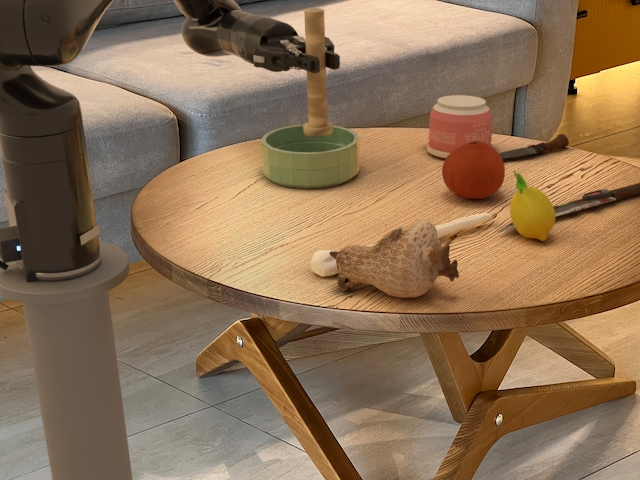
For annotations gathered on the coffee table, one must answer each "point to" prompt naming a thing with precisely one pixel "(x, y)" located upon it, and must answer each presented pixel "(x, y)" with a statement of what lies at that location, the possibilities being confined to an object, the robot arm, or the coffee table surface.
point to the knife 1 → (537, 148)
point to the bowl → (310, 157)
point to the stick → (316, 75)
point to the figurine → (398, 262)
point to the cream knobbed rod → (327, 264)
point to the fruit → (473, 170)
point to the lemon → (531, 211)
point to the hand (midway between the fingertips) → (327, 64)
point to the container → (458, 124)
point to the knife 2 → (592, 200)
